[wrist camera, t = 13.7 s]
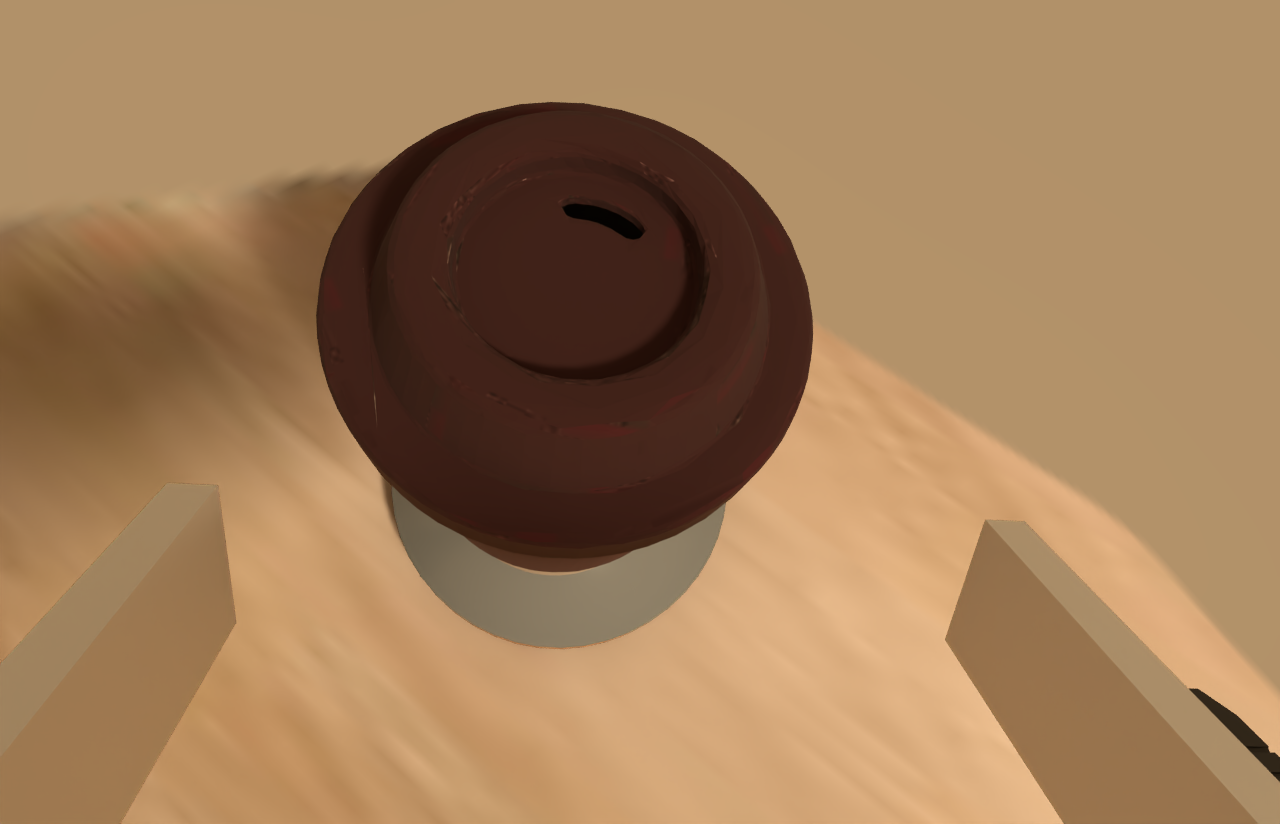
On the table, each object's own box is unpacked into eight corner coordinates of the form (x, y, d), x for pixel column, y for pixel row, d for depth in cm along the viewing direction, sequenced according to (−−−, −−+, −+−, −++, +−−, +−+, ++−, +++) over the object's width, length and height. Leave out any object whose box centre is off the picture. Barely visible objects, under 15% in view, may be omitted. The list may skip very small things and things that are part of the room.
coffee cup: (518, 679, 26) (503, 659, 12) (358, 442, 28) (181, 181, 14) (745, 507, 29) (949, 325, 15) (586, 304, 31) (633, -26, 17)
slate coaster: (334, 570, 27) (326, 564, 26) (484, 292, 32) (482, 277, 30) (654, 702, 27) (659, 703, 26) (759, 405, 31) (767, 395, 30)
